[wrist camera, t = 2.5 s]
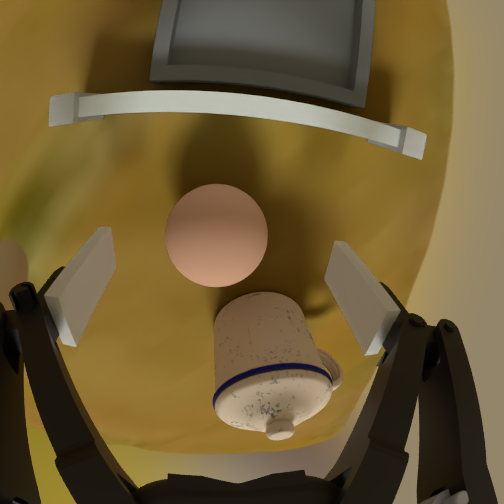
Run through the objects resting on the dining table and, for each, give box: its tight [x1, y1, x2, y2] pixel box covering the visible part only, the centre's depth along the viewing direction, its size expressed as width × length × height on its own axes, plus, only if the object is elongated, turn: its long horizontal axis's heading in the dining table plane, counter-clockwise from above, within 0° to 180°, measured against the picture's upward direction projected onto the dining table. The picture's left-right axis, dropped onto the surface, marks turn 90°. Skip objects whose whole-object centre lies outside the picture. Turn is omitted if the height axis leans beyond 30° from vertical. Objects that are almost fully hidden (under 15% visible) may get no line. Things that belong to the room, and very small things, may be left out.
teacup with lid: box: [213, 292, 343, 440], centre depth 21 cm, size 12×9×12 cm
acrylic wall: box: [49, 90, 427, 160], centre depth 14 cm, size 23×2×5 cm, turn 83°
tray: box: [149, 0, 375, 108], centre depth 12 cm, size 14×12×2 cm
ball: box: [165, 184, 268, 287], centre depth 17 cm, size 6×6×6 cm
